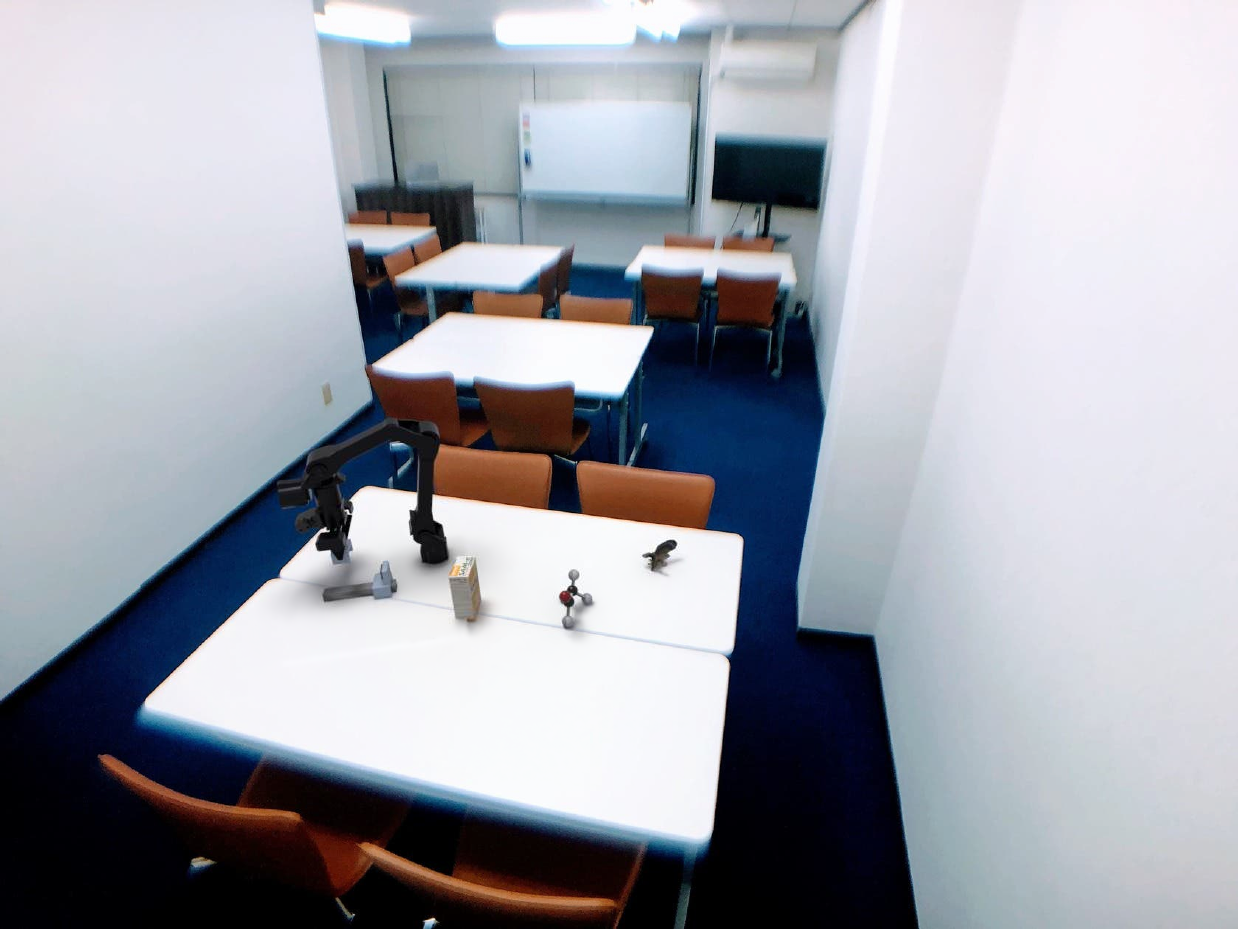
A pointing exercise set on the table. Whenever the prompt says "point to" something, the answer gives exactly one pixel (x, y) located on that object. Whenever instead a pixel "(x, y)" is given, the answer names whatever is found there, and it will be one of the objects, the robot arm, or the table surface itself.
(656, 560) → the grey brown irregular piece
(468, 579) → the supplement box
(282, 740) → the table surface
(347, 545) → the notched blue block
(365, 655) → the table surface
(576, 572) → the molecular model
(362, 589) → the rail board
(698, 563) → the table surface
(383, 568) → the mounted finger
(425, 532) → the robot arm
